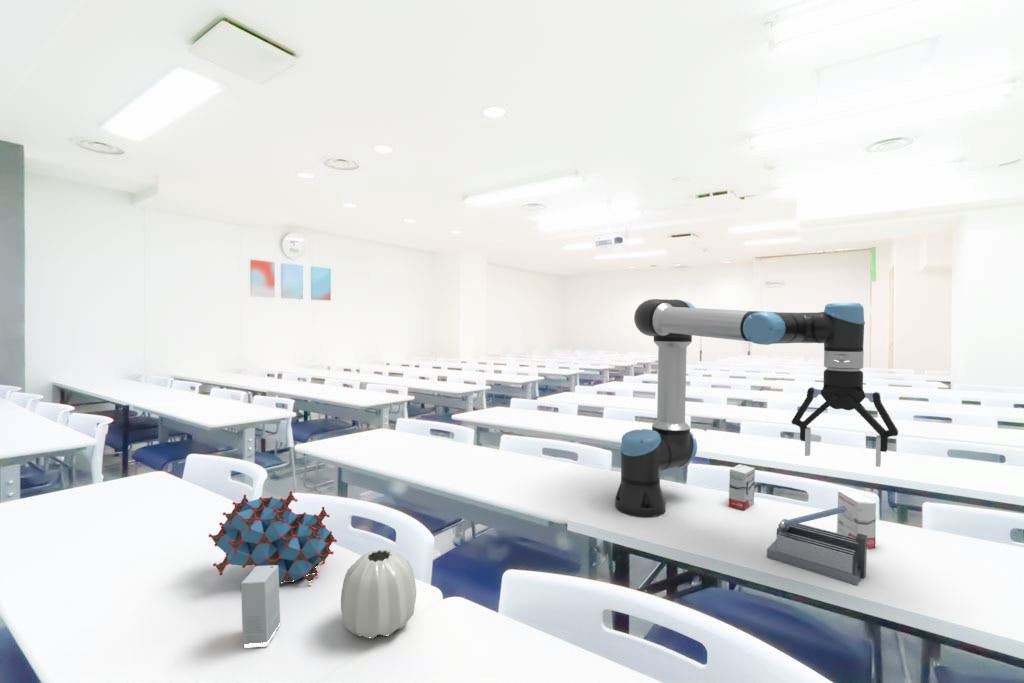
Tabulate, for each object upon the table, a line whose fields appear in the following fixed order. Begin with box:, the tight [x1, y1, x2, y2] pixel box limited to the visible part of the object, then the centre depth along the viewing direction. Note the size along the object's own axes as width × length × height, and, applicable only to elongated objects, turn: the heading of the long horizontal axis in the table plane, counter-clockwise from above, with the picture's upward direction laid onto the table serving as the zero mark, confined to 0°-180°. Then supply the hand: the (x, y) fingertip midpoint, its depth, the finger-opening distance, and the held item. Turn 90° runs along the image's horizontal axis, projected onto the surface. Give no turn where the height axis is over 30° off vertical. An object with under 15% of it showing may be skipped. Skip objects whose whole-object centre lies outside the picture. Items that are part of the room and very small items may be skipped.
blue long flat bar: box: [777, 506, 847, 529], centre depth 114 cm, size 15×4×1 cm, turn 45°
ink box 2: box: [836, 490, 877, 549], centre depth 124 cm, size 9×5×12 cm, turn 175°
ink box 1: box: [728, 464, 756, 511], centre depth 148 cm, size 8×5×12 cm, turn 134°
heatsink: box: [766, 523, 868, 586], centre depth 113 cm, size 19×12×9 cm, turn 46°
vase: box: [340, 548, 417, 639], centre depth 90 cm, size 14×14×13 cm
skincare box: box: [240, 565, 281, 645], centre depth 86 cm, size 6×4×12 cm
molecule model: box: [208, 490, 338, 583], centre depth 107 cm, size 16×14×25 cm
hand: (841, 459), depth 111 cm, fingers open, 13 cm apart
